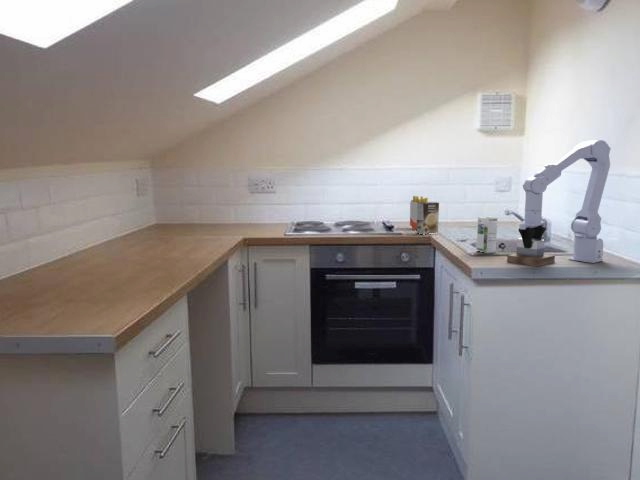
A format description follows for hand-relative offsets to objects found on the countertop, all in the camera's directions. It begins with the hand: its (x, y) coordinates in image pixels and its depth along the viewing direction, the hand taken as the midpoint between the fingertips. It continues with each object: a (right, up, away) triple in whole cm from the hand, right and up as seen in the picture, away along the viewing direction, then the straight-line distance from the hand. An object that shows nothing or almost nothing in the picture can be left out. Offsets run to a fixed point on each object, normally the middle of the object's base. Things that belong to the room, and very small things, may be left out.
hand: (531, 247), depth 197 cm
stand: (0, -6, +1) cm, 6 cm away
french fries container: (-24, +8, +90) cm, 93 cm away
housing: (0, -3, +1) cm, 3 cm away
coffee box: (-24, +5, +74) cm, 77 cm away
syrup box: (-10, -3, +22) cm, 24 cm away
